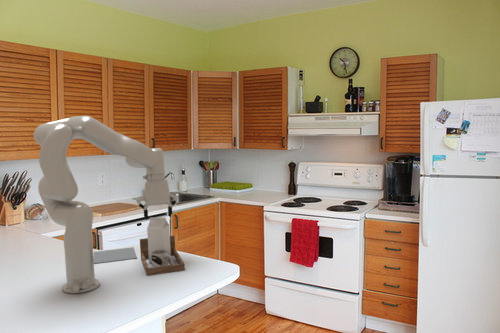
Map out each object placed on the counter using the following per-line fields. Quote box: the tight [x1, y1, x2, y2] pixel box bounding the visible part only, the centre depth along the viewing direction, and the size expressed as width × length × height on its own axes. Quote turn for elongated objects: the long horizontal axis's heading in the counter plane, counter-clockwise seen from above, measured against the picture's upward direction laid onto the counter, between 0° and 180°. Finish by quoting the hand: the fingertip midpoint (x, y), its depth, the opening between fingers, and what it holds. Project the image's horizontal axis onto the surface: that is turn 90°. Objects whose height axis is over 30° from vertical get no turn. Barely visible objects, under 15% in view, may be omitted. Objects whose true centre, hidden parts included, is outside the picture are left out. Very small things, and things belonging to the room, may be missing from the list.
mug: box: [151, 250, 174, 268], centre depth 177 cm, size 10×7×7 cm, turn 62°
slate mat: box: [93, 246, 138, 265], centre depth 197 cm, size 18×18×1 cm
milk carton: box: [146, 216, 171, 264], centre depth 186 cm, size 7×7×19 cm
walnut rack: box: [139, 234, 186, 276], centre depth 182 cm, size 22×15×9 cm, turn 19°
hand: (158, 217), depth 185 cm, fingers open, 9 cm apart
